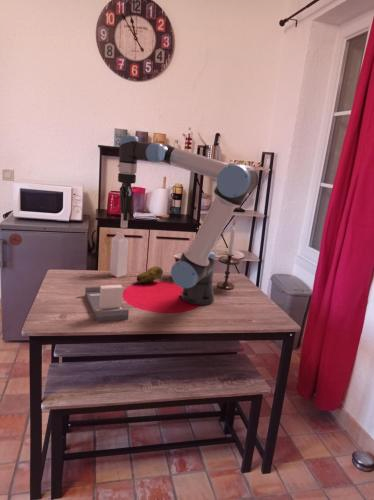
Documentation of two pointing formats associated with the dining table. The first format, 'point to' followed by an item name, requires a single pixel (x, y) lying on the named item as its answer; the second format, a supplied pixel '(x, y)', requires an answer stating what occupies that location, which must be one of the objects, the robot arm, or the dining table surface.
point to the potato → (150, 275)
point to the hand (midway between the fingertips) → (124, 227)
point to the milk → (119, 255)
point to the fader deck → (99, 314)
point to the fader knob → (111, 297)
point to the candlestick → (228, 263)
